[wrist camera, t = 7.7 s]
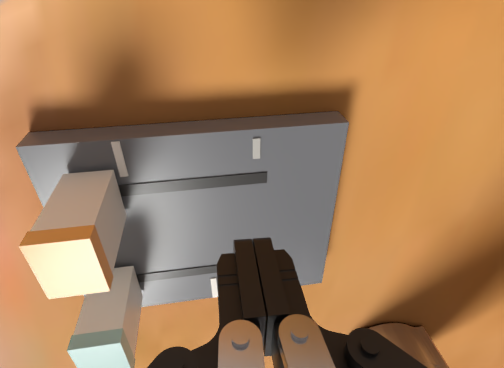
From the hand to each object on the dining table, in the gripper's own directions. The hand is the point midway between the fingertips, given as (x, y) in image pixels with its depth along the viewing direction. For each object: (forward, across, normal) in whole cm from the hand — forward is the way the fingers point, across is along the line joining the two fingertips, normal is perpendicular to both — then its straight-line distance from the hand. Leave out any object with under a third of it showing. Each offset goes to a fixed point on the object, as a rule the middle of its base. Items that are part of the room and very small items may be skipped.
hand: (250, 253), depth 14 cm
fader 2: (+6, +8, +8) cm, 12 cm away
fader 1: (+6, +7, +1) cm, 9 cm away
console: (+8, +2, +4) cm, 9 cm away
